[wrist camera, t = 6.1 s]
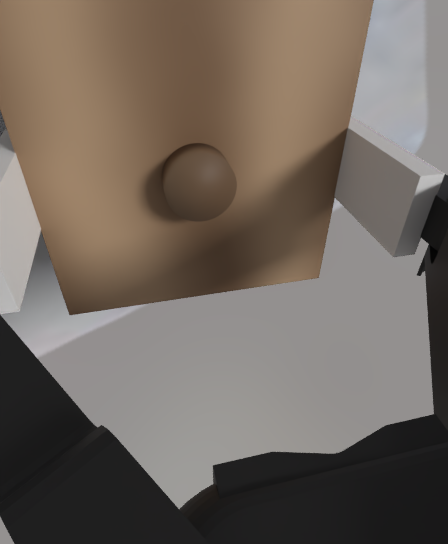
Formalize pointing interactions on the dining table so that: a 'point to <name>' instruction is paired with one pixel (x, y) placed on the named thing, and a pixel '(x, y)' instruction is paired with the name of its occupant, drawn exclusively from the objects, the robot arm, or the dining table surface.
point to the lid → (179, 138)
